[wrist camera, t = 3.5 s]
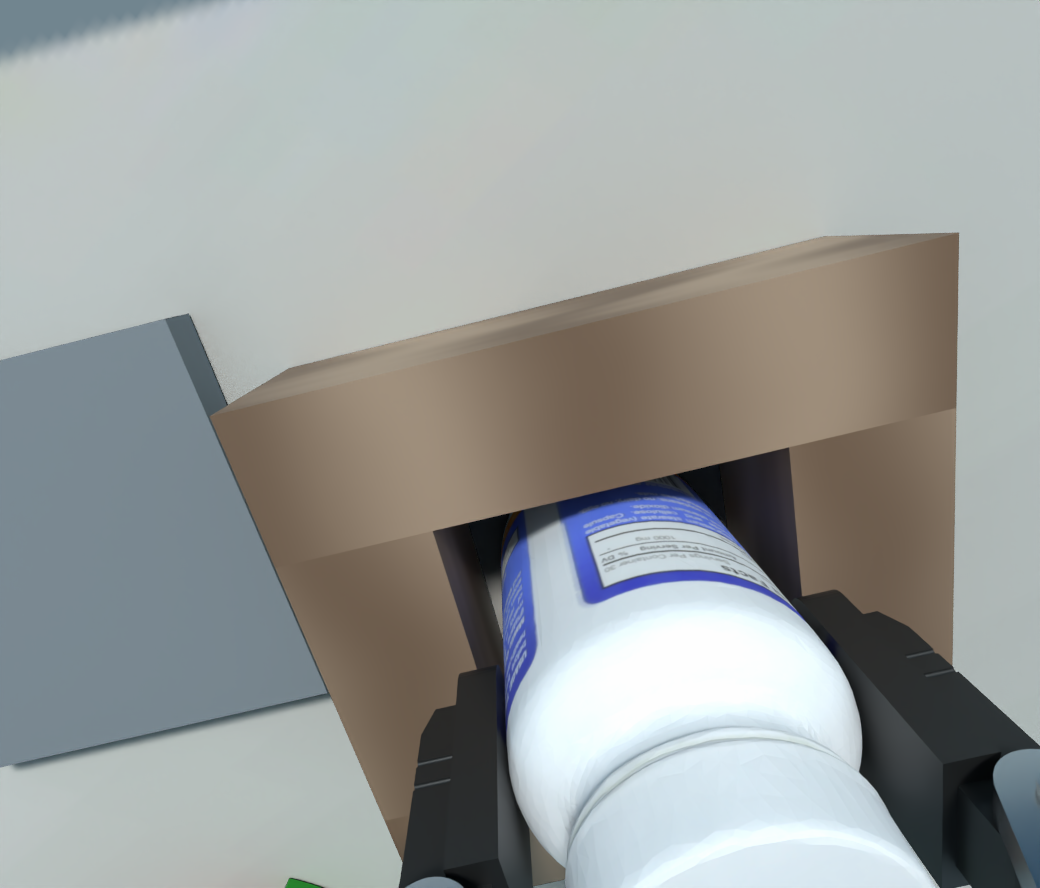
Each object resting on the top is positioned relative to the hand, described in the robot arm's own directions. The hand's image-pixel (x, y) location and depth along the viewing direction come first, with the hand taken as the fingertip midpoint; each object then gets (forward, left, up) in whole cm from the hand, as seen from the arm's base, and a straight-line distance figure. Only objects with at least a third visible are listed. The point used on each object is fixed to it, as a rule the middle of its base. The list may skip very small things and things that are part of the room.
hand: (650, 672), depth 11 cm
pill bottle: (0, 0, -5) cm, 5 cm away
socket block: (0, 0, -5) cm, 5 cm away
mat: (+13, -3, -5) cm, 14 cm away
